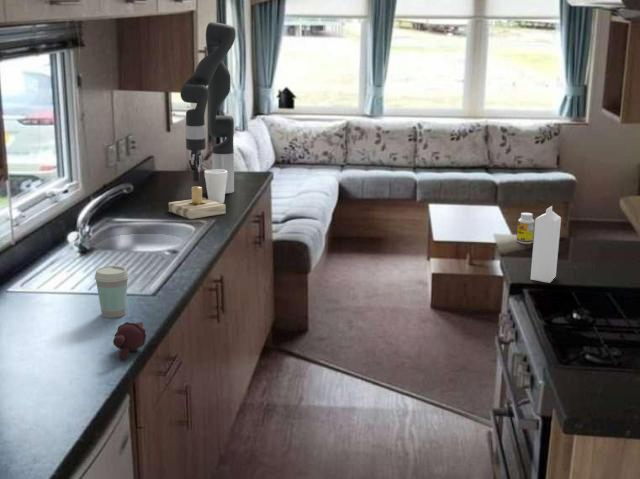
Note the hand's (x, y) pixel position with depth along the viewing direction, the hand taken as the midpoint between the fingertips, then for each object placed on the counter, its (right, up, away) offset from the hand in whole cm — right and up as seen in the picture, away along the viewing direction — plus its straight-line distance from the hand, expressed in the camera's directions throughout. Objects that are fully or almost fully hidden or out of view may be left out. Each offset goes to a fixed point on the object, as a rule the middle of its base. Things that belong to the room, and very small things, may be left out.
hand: (196, 181), depth 328 cm
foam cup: (+5, -8, +20) cm, 22 cm away
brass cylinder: (0, -12, +2) cm, 12 cm away
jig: (0, -12, +2) cm, 12 cm away
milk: (+115, -35, -75) cm, 142 cm away
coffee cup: (-5, -42, -110) cm, 118 cm away
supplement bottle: (+120, -24, -34) cm, 127 cm away
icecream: (+4, -49, -133) cm, 141 cm away
